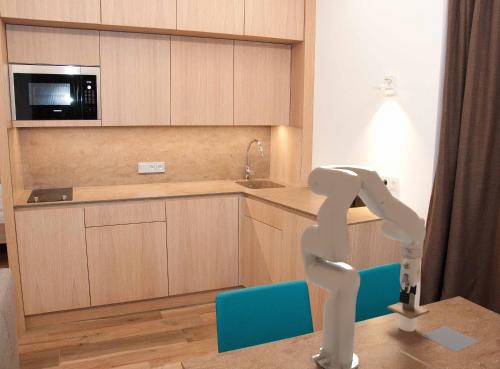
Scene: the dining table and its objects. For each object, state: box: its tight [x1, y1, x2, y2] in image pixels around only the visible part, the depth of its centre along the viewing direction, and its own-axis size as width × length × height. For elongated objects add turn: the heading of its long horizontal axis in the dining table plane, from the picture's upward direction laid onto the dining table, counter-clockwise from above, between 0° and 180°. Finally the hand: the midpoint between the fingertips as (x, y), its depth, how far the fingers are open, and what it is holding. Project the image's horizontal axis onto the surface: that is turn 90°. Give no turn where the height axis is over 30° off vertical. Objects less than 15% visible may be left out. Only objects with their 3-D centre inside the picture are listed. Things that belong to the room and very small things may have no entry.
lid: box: [386, 293, 430, 319], centre depth 161 cm, size 10×10×6 cm
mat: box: [421, 325, 480, 353], centre depth 154 cm, size 13×13×1 cm
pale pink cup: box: [397, 313, 419, 332], centre depth 162 cm, size 7×7×7 cm
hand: (407, 298), depth 160 cm, fingers open, 9 cm apart
